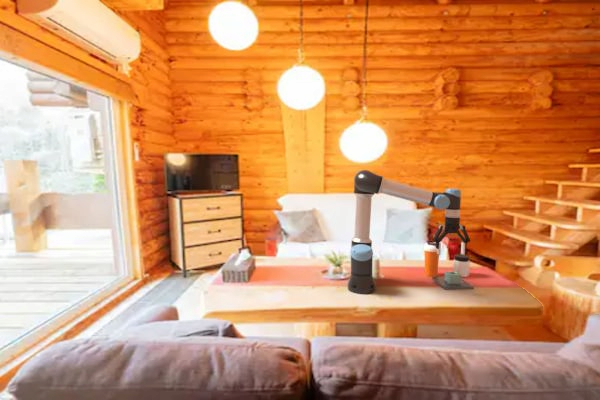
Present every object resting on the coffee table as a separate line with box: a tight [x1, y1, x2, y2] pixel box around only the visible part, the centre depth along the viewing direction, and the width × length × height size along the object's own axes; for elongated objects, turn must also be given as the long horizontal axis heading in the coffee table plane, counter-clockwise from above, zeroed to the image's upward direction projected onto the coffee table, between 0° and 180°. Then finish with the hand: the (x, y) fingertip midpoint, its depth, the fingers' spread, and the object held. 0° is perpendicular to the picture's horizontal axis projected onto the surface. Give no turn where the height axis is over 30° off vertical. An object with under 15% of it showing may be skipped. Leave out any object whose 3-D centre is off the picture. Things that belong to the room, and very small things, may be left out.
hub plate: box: [431, 276, 474, 291], centre depth 183 cm, size 16×16×6 cm
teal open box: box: [444, 270, 462, 284], centre depth 183 cm, size 6×6×5 cm
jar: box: [452, 253, 471, 278], centre depth 198 cm, size 9×8×12 cm
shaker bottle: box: [423, 241, 440, 278], centre depth 198 cm, size 9×9×20 cm
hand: (450, 254), depth 182 cm, fingers open, 13 cm apart
